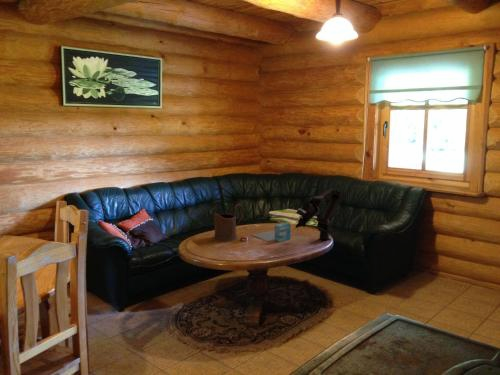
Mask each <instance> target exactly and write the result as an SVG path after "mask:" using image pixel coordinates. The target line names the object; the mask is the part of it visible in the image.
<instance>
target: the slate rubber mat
mask: <svg viewBox="0 0 500 375" xmlns="http://www.w3.org/2000/svg"><path fill="white" fill-rule="evenodd" d="M251 236H253V237H255V238H257V239H261V240H263V241H265V242H272V241H275V229H274V230H268V231H264V232H258V233H254V234H251ZM290 238H291V235H290Z"/></svg>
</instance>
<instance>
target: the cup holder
mask: <svg viewBox="0 0 500 375" xmlns="http://www.w3.org/2000/svg"><path fill="white" fill-rule="evenodd" d="M238 206H241V216H240V218H239V219H238V220H237V219H236V218H237V217H236V215H237V207H238ZM213 215H214V216H213V218H214V235H213V238H212V239H213V241H215V242H217V241H218V242H217V243H232V242H236V241H237V240H238V239H239V238H238V236H237V226H238V225H239V224H240V222H241V220H242V219H243V217H244V205H243V204H241V203H237V204H236V205H235V206H234V214H230V213H216V212H214V213H213ZM236 220H237V222H236Z"/></svg>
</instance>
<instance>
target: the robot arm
mask: <svg viewBox="0 0 500 375" xmlns="http://www.w3.org/2000/svg"><path fill="white" fill-rule="evenodd" d="M329 198H330V202H329V205H328V207H327V209H326V211H325V213H324V216H323V217H322V218H321V217H320V218H319V219H318V221H317V224H316V226H317V230H318V232H319V237H318V240H320V241H323V242H327V241H331V238H330V233H332V230H333V229H332V228H331V218H332V217H333V214H334V212H335V209H336V208H337V205H338V204H339V203H340V202H342V200H343V198H344V194H343V192H341V191H338V190H336V189H335V188H328V189H327V190H326V191H324V192H322V193H321V194H319V195H316V196H313V197H311V199H310V200H306V202H305V203H304V204H303V205H302V208H301V207H300V208H298V209H297V211H296V214H297V215H299V216H301V217H299V219H298V220H297V224H296V225H295V226H294V227H295V229H298V228H301V227H303V228H305V227H306V226H307V224H308V223H309V222H310V221H311V219H313V218H314V217H315V216H317V214H318V213H322V208H321V206H322V205H323V204H325V203H324V202H325V201H326V200H327V199H329Z"/></svg>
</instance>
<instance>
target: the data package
mask: <svg viewBox="0 0 500 375" xmlns="http://www.w3.org/2000/svg"><path fill="white" fill-rule="evenodd" d="M274 230H275V240H274V241H275V242H279V243H281V242H285V241H289V240H290V239H291V237H290V236H291V224H290V223H287V222H283V223H282V222H281V223H278V224H276V225H274Z"/></svg>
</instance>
